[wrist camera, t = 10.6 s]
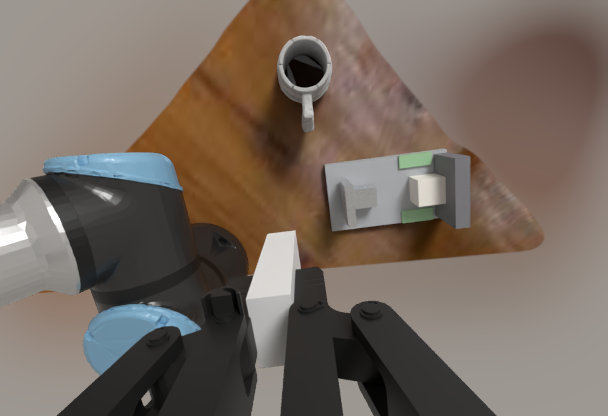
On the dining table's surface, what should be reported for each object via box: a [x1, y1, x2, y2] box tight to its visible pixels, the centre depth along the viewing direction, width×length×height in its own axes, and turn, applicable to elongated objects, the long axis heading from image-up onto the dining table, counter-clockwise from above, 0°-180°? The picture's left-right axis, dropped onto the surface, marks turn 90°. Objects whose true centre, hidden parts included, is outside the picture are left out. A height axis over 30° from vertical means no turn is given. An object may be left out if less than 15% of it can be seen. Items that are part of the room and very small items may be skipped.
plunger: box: [340, 179, 378, 228], centre depth 46 cm, size 5×6×6 cm
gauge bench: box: [324, 149, 470, 231], centre depth 47 cm, size 19×11×8 cm, turn 97°
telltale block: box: [409, 173, 446, 207], centre depth 48 cm, size 4×4×4 cm
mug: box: [277, 36, 332, 132], centre depth 41 cm, size 8×12×12 cm, turn 4°
